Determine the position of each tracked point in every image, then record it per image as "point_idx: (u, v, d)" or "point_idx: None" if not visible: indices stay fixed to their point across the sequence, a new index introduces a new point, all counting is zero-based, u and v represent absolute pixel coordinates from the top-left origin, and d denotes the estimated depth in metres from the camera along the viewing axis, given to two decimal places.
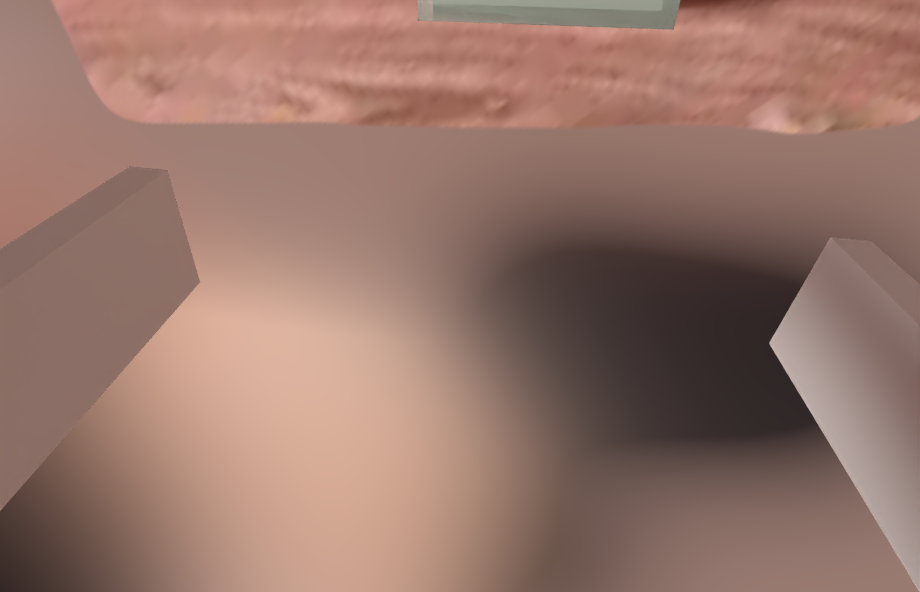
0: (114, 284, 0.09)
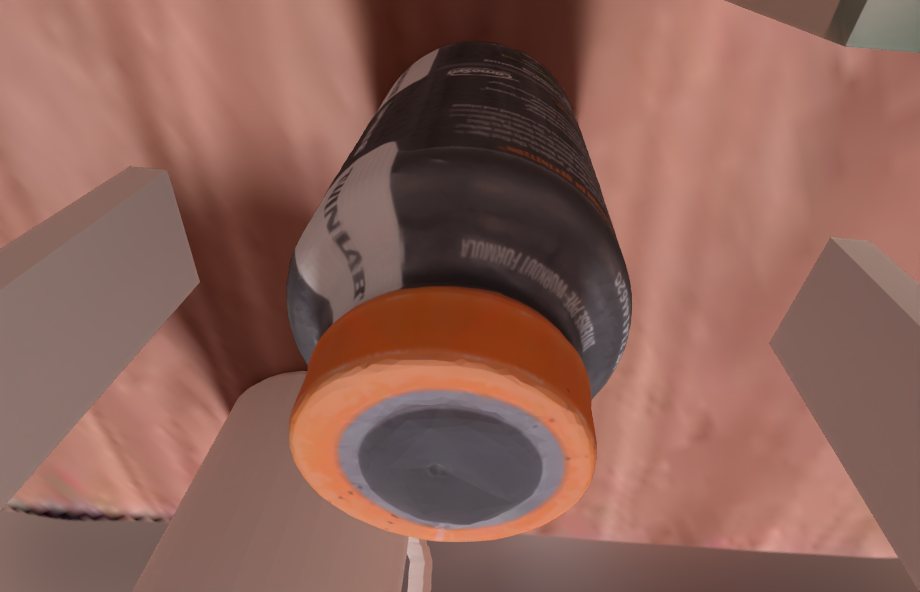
0: (114, 284, 0.09)
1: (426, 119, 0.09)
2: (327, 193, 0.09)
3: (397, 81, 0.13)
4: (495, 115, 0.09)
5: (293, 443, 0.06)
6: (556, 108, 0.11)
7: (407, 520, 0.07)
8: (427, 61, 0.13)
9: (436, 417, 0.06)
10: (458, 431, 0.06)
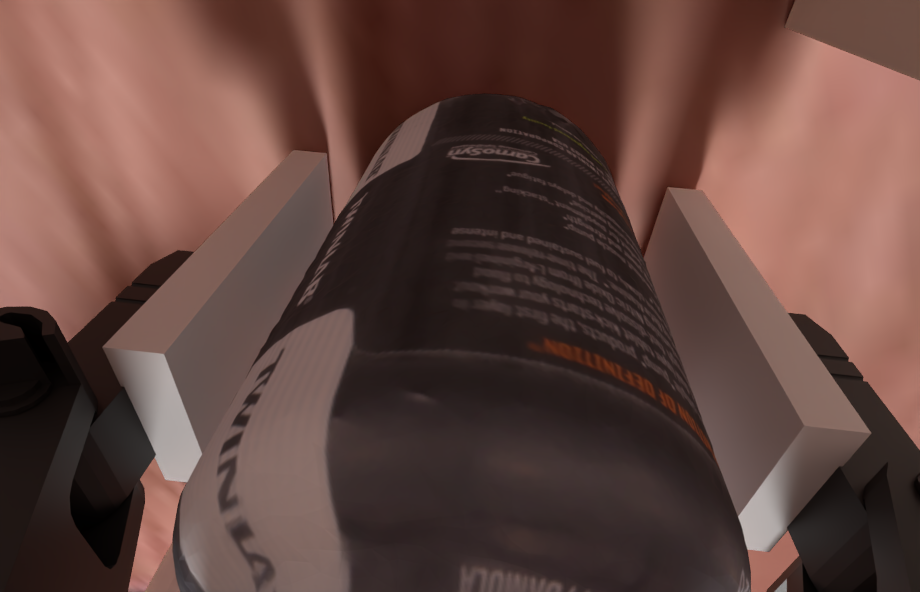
0: (298, 251, 0.10)
1: (409, 262, 0.05)
2: (246, 381, 0.05)
3: (383, 146, 0.10)
4: (519, 253, 0.05)
5: None
6: (603, 206, 0.08)
7: None
8: (422, 124, 0.09)
9: None
10: None
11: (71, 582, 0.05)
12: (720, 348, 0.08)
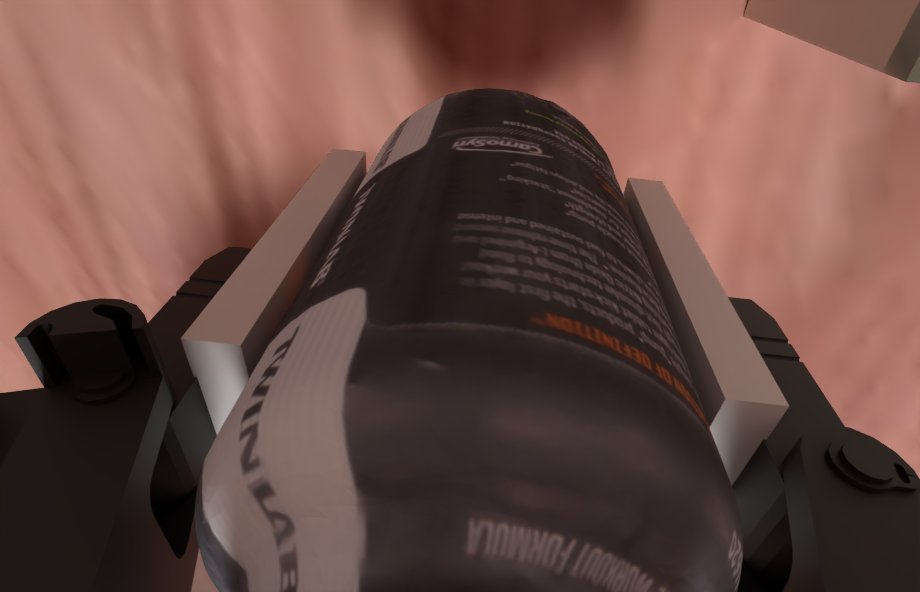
0: None
1: (417, 244, 0.06)
2: (263, 358, 0.06)
3: (390, 139, 0.10)
4: (522, 236, 0.06)
5: None
6: (604, 195, 0.08)
7: None
8: (428, 117, 0.10)
9: None
10: None
11: (148, 571, 0.05)
12: None
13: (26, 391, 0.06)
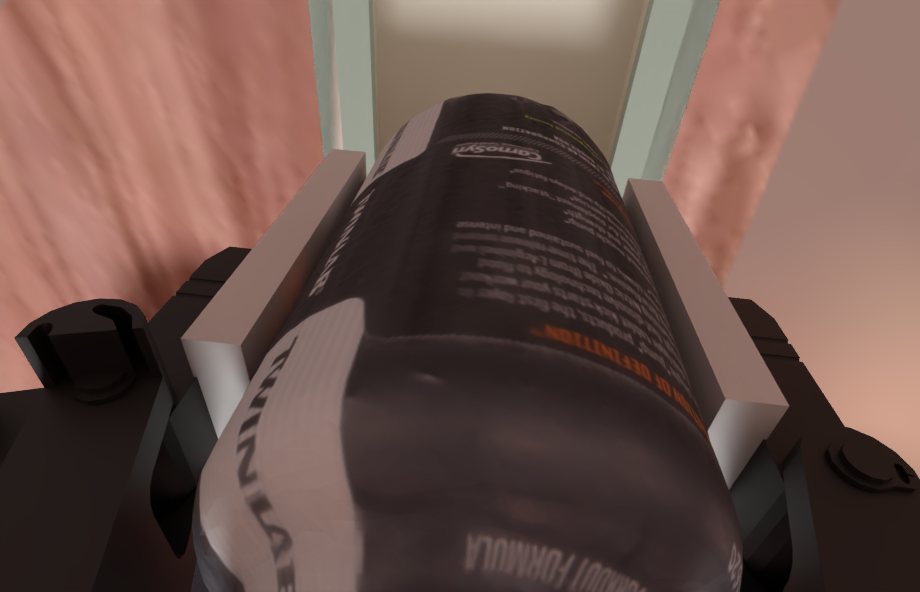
0: None
1: (416, 253, 0.06)
2: (261, 368, 0.06)
3: (389, 144, 0.10)
4: (521, 245, 0.06)
5: None
6: (603, 202, 0.08)
7: None
8: (427, 122, 0.10)
9: None
10: None
11: (149, 571, 0.05)
12: None
13: (26, 391, 0.06)
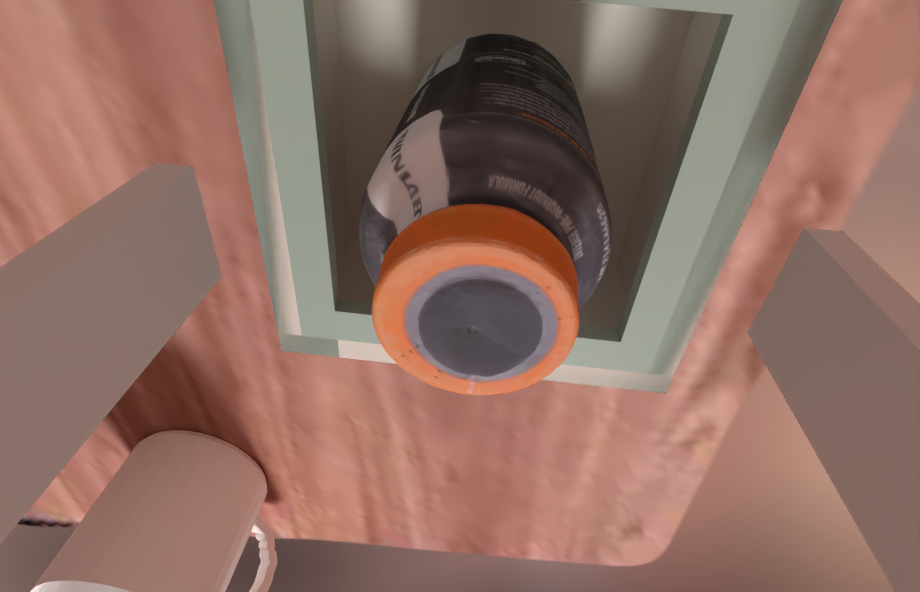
0: (144, 277, 0.09)
1: (461, 94, 0.12)
2: (388, 149, 0.12)
3: (432, 66, 0.16)
4: (512, 90, 0.12)
5: (375, 310, 0.10)
6: (560, 87, 0.14)
7: (448, 374, 0.10)
8: (457, 50, 0.16)
9: (472, 285, 0.09)
10: (487, 295, 0.09)
11: None
12: None
13: None
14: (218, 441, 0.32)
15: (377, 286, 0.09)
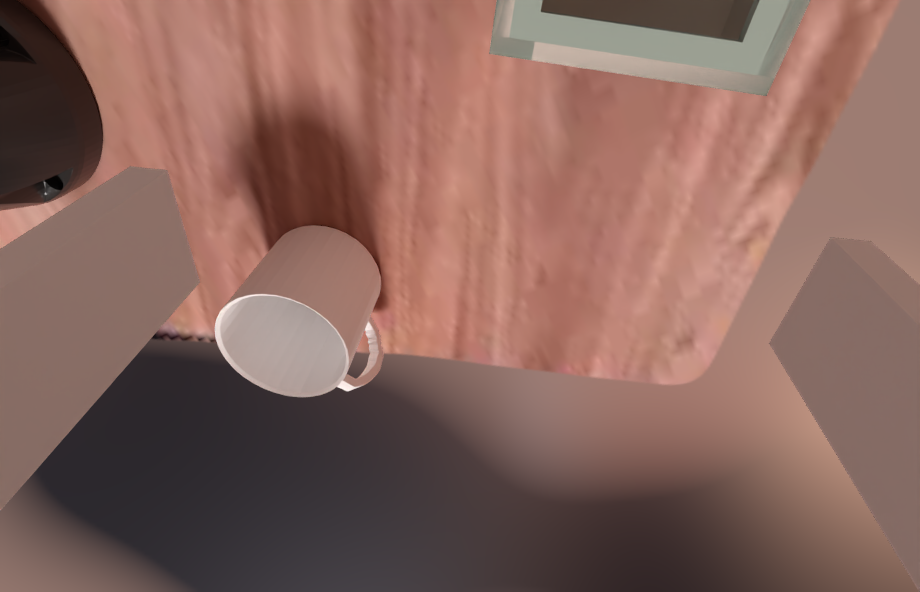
0: (114, 284, 0.09)
1: None
2: None
3: None
4: None
5: None
6: None
7: None
8: None
9: None
10: None
11: None
12: None
13: None
14: (350, 236, 0.39)
15: None
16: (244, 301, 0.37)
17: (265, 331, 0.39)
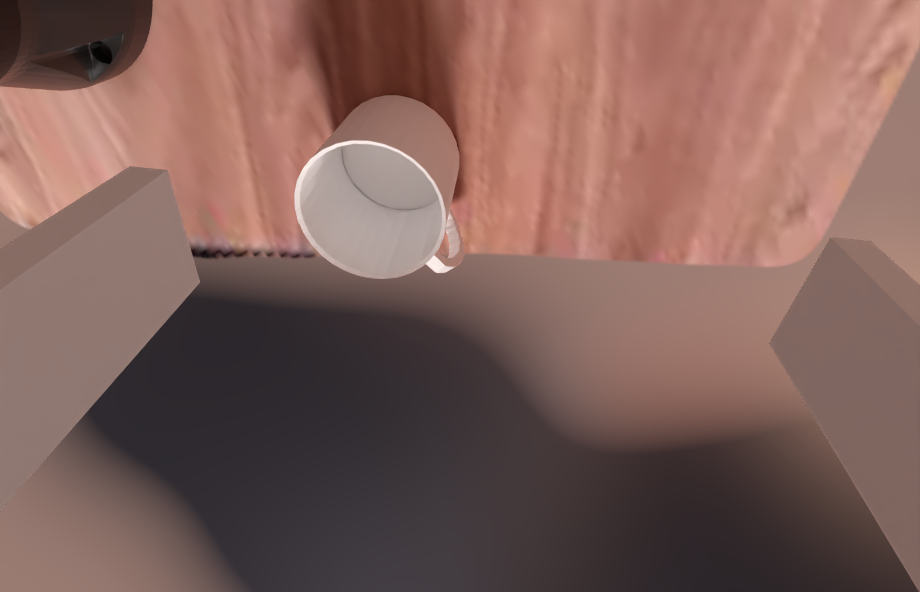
0: (114, 284, 0.09)
1: None
2: None
3: None
4: None
5: None
6: None
7: None
8: None
9: None
10: None
11: None
12: None
13: None
14: (427, 106, 0.35)
15: None
16: (318, 177, 0.33)
17: (338, 217, 0.35)
